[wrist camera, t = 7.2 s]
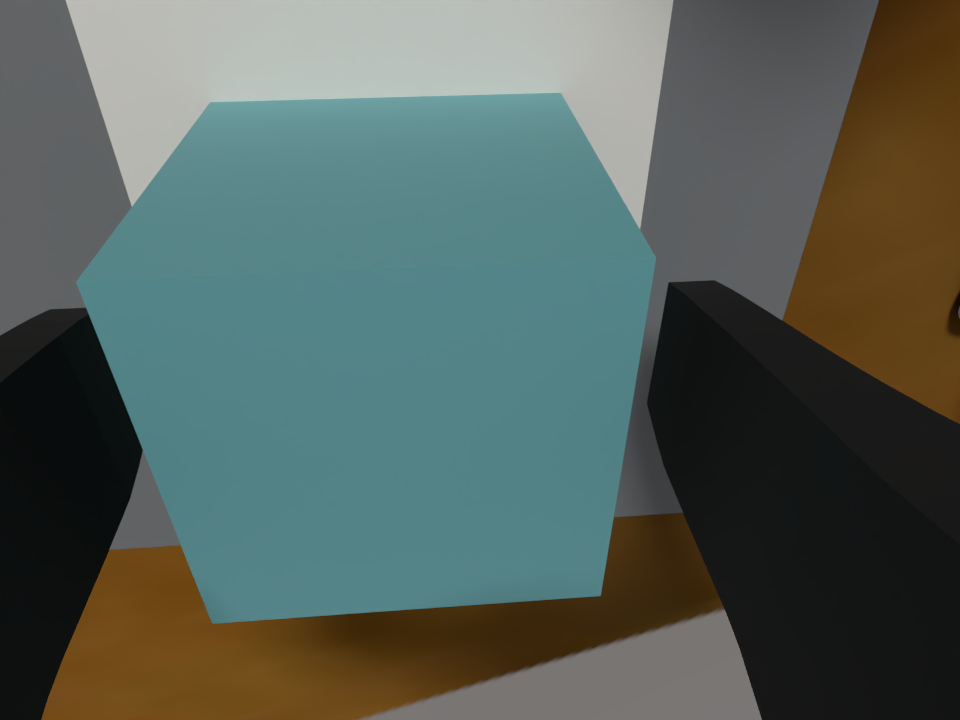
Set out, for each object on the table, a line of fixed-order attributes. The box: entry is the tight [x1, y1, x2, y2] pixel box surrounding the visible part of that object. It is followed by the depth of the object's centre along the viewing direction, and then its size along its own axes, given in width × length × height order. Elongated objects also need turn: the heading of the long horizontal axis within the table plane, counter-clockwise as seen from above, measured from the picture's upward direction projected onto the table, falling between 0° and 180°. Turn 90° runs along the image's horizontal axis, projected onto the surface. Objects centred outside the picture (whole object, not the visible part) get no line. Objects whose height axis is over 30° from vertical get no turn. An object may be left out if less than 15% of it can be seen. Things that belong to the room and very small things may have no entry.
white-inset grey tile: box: [0, 0, 879, 550], centre depth 13 cm, size 14×14×3 cm
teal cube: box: [76, 93, 656, 624], centre depth 10 cm, size 5×5×5 cm
